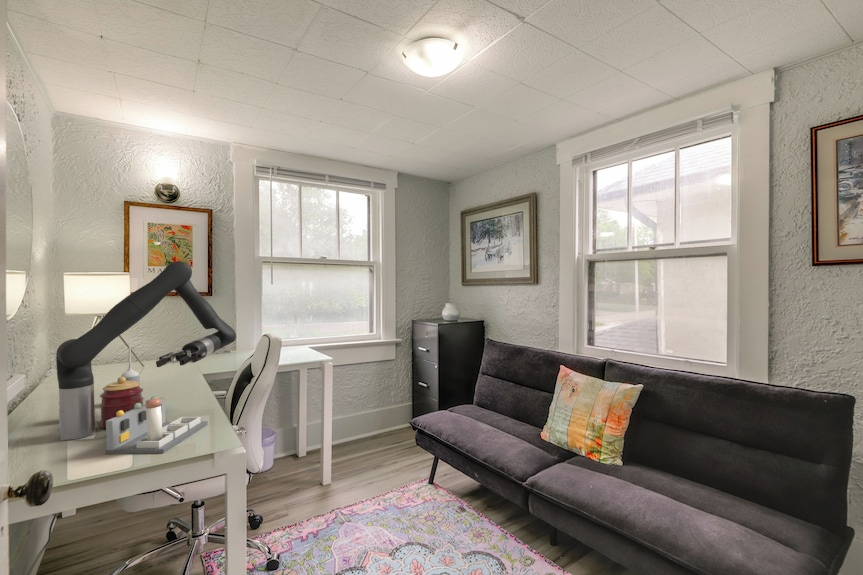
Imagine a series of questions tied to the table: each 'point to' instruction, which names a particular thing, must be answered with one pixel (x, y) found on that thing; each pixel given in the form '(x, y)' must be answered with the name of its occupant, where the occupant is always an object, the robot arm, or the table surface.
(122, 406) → the canister
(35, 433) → the table surface
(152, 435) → the plug
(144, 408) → the breaker board
